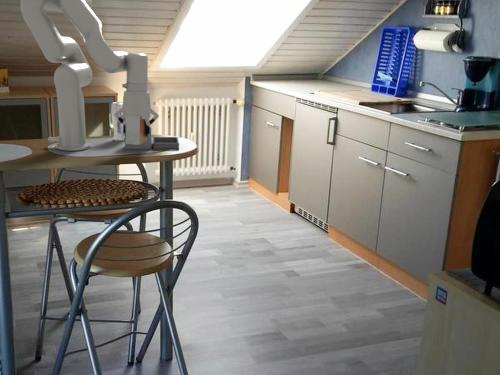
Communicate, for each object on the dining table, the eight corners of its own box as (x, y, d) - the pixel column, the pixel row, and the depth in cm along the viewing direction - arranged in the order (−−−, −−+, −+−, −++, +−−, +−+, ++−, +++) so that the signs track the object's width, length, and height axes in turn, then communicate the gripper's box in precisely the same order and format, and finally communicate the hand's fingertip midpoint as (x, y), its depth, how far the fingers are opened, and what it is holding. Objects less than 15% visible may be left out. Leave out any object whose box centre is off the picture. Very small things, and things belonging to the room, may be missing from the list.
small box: (139, 145, 221) (139, 117, 218) (125, 143, 222) (125, 115, 219) (147, 141, 228) (147, 113, 225) (133, 139, 229) (133, 112, 226)
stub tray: (152, 149, 231) (152, 143, 230) (152, 143, 242) (152, 137, 242) (178, 149, 232) (178, 143, 232) (177, 143, 244) (177, 137, 243)
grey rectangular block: (125, 148, 231) (124, 127, 228) (125, 146, 235) (125, 125, 233) (151, 148, 232) (151, 127, 230) (151, 146, 237) (151, 125, 235)
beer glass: (130, 138, 250) (129, 102, 246) (128, 141, 244) (127, 104, 240) (114, 137, 250) (112, 101, 246) (110, 141, 243) (109, 104, 239)
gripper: (111, 88, 214) (111, 136, 219) (161, 90, 217) (160, 138, 222) (113, 85, 221) (113, 132, 226) (160, 87, 224) (159, 134, 229)
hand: (136, 135), depth 224 cm, fingers closed on small box, 7 cm apart
